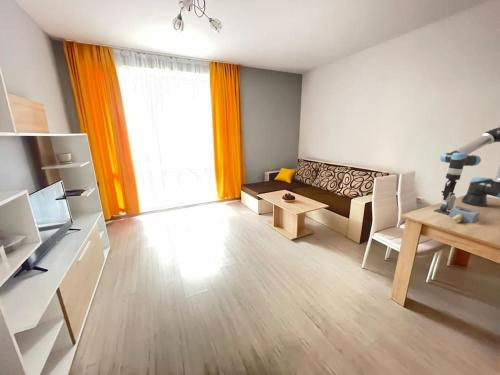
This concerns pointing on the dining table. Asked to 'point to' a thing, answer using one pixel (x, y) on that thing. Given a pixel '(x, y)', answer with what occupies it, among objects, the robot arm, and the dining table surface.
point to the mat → (442, 211)
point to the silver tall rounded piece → (445, 206)
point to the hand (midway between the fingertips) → (445, 203)
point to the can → (451, 202)
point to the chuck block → (464, 214)
